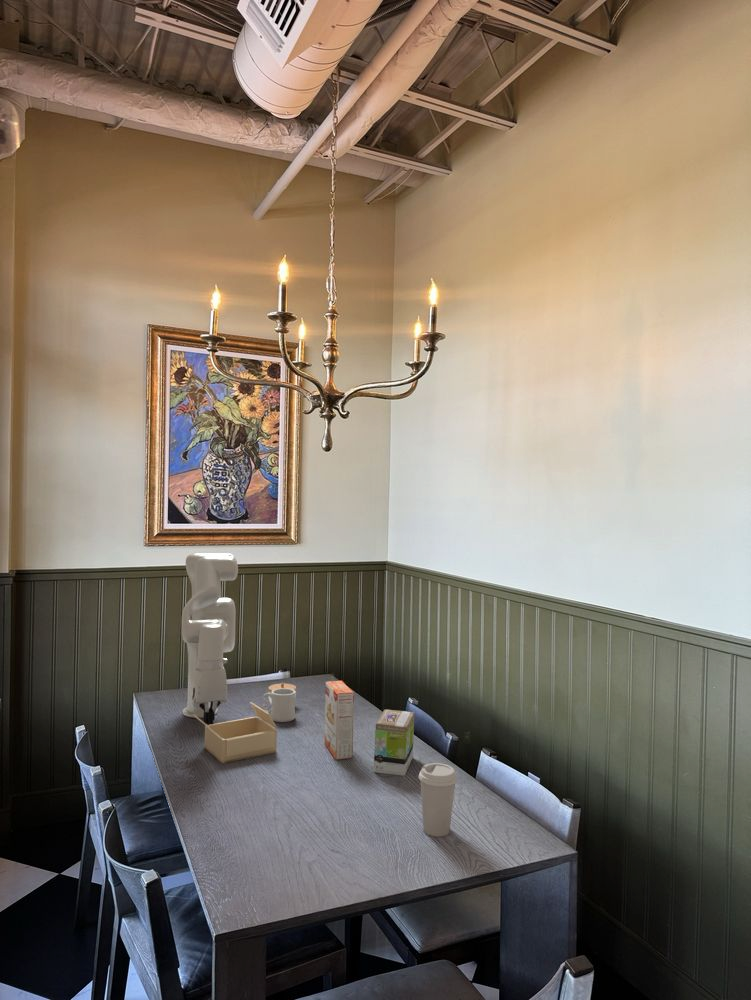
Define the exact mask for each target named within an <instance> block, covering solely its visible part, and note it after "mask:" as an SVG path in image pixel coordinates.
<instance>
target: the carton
mask: <svg viewBox="0 0 751 1000" xmlns="http://www.w3.org/2000/svg"><path fill="white" fill-rule="evenodd" d="M208 726H209V727H210V728H212V729H213V730H214V731H215V732H217V733H218V734H219V735H220V736H222V738H221V737H219V736H218V735H217V734H216V733H214V732H213V731H212V730H211V729H209V728H208V727H207V726H206V725H204V749H206V750H207V751H208V752H209V753H210V754H211V755H212V756H214V758H216V759H217V760H218V761H219V762H220V763H221V764H227V763H230V762H234V761H235V762H237V761H239V760H245V759H249V758H254V757H258V756H259V757H260V756H263V755H269V754H273V753H277V747H278V745H277V743H278V742H277V741H278V730H277V728H275V727H274V726H272V725H271V724H269V723H268V722H266V721H265V720H263V719H262V718H260V717H259V716H252V717H246V718H240V719H234V720H227V721H222V722H216V723H213V724H212V725H211V724H210V725H208Z"/></svg>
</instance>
